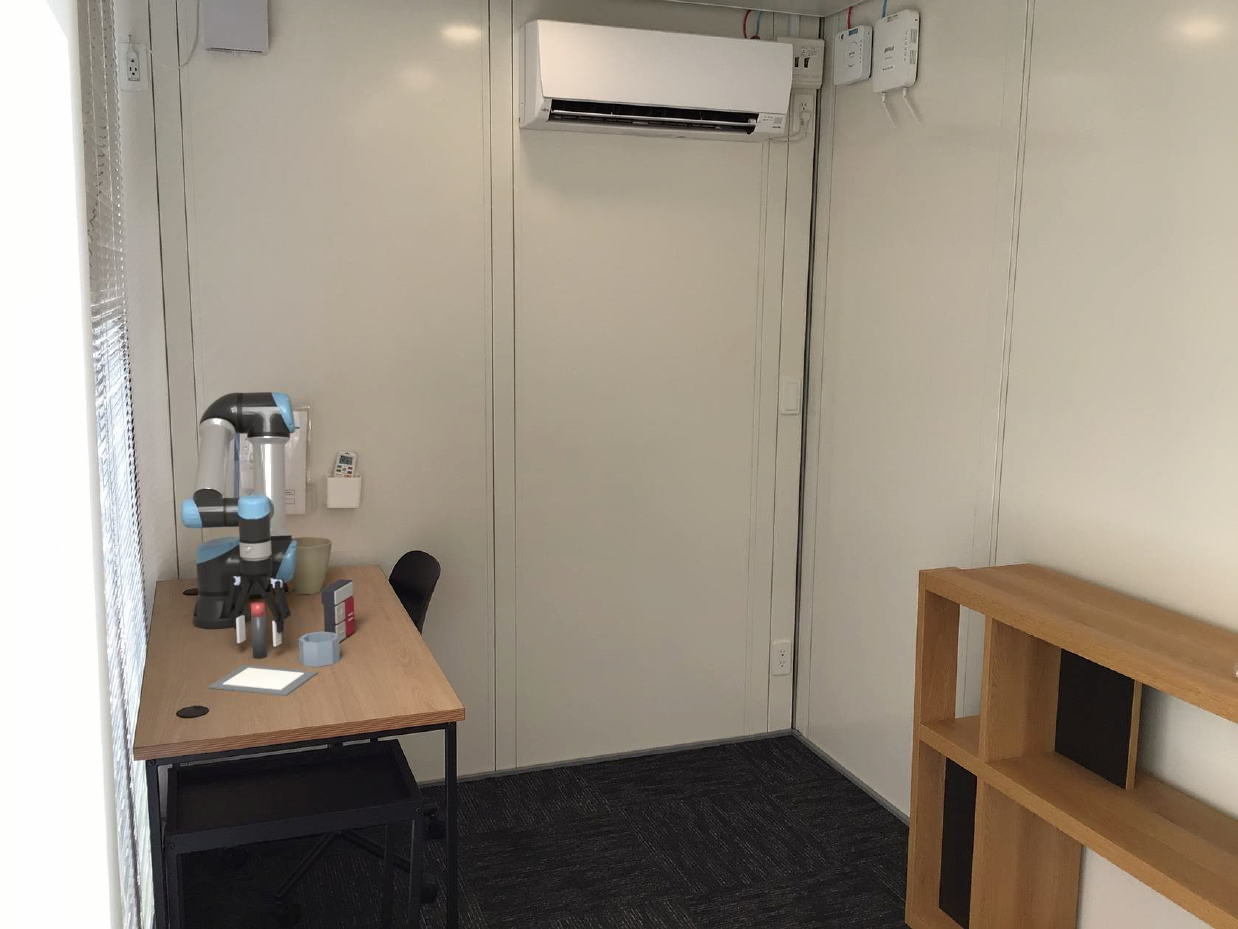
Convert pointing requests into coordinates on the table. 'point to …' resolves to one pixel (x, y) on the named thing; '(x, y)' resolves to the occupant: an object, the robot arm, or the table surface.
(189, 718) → the table surface
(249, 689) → the writing pad
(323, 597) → the grey and red block
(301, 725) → the table surface
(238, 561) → the robot arm
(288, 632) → the table surface
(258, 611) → the marker
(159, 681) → the table surface
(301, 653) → the pen cup
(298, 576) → the plant pot
